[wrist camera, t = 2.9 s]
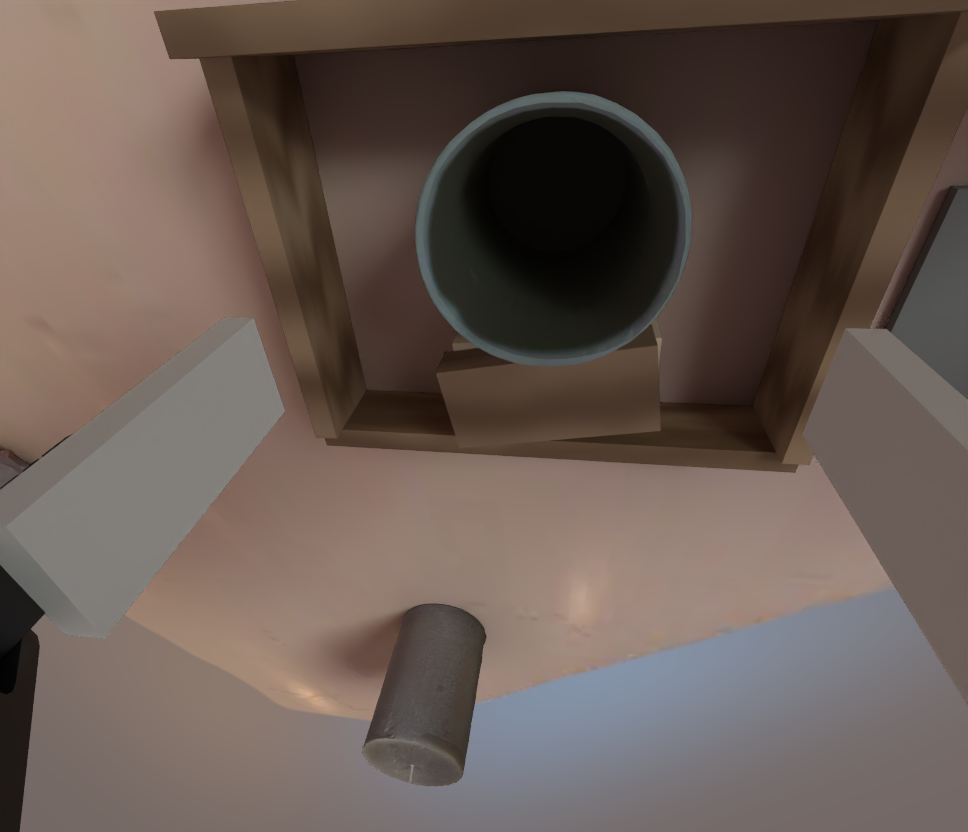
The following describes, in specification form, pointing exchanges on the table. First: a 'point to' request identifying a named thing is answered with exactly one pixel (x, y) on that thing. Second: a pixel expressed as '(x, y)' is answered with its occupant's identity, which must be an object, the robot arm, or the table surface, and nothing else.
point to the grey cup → (553, 229)
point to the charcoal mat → (939, 296)
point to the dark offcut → (551, 396)
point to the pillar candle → (428, 697)
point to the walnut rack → (565, 15)
